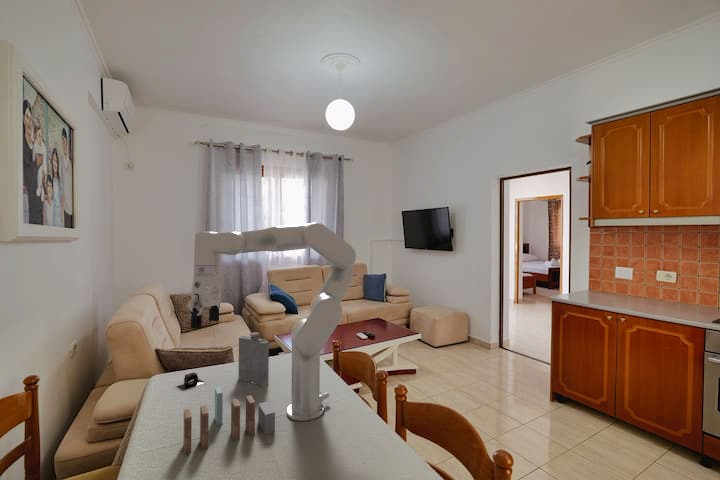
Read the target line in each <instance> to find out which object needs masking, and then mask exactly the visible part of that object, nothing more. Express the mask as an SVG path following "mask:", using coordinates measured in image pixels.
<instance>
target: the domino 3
mask: <svg viewBox="0 0 720 480" xmlns="http://www.w3.org/2000/svg"><path fill="white" fill-rule="evenodd" d="M223 397H224V394H223V390H222V388H221V386H218V387H214V420H215V423H216V426H219V425H223V410H224V409H223V404H224V403H223V402H224V401H223V399H224V398H223Z"/></svg>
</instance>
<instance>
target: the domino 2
mask: <svg viewBox="0 0 720 480" xmlns="http://www.w3.org/2000/svg"><path fill="white" fill-rule="evenodd" d="M199 407H200V411H199V412H200V413H199V415H200V416H199V417H200V419H199V428H200V430H199V443H200V447H201V450H202V451H203V450H207V449H209V409H208V405H206V404H205V405H201V406H199Z"/></svg>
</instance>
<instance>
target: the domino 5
mask: <svg viewBox="0 0 720 480" xmlns="http://www.w3.org/2000/svg"><path fill="white" fill-rule="evenodd" d="M255 422H256V401H255V399H254V397H253V396H252V395H251V394H250V395H246V396H245V431H246V432H247V434H248V436H249V437H252V436H255V431H256V424H255Z"/></svg>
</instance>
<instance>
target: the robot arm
mask: <svg viewBox="0 0 720 480" xmlns="http://www.w3.org/2000/svg"><path fill="white" fill-rule="evenodd" d="M305 249H313V251H314V252H316V253H317V254H319V255H320V256H321V257H323V259H325V260H326V261H327V262H328V263H329V273H328V275H327V278H325V280H324V282H323V284H322V286H321V287H320V289H318V292H317V293H316V295H315V296H314V297H313V299H312V300H311V302H310V306H309V307H310V308H309V310H310V313H309V315H308V317H306V318H305V317H304V318H301V319H299V320H298V321H296V322H295V323H294V325H292V326H293V327H292V328H291V329H292V330H291V336H290V337H291V397H290V398H291V403H290V404H289V405H288V406H287V407H286V415H287V417H288V418H290V419H291V420H294V421H298V422H300V421H301V422H306V421H307V422H308V421H311V420H315V419H317V418H319V417H321V416H322V415H323V414H324V411H325V406H324V404H323V403H322V402H323V401H324V400H326V399H328V398H329V397H330V394H329V392H327V391H326V392H324V393H321V392H320V391H321V390H320V388H321V387H320V384H321V383H320V380H321V379H320V378H321V376H320V371H321V350H323V348H324V347H325V345H327V342H328V341H329V339H330V337H331V336H332V334H333V333H334V331H335V329H336V328H337V326H338V325H339V323H340V321H341V319H342V316H343V306H342V304H341V303H342V300H343V299H344V297H345V296H346V294H347V292H348V291H349V288H350V286H351V284H352V281H353V277H354V266H353V265H354V264H355V262H356V259H357V252H356V251H355V249H354V247H353V246H352V245H351V244H350V243H348V242H347V241H346V240H344V239H343V238H342V237H341V236H339V235H337V234H336V233H335V232H334V231H332V230H331V229H330V228H328V227H327V226H326V225H325V224H323V223H320V222H318V221H317V222H310V223H302V224H301V223H300V224H291V225H290V224H288V225H278V226H277V225H275V226H272V227H271V226H270V227H268V228H263V229H256V230H246V231H225V232H217V231H197V232H196V233H195V234H194V249H193V251H194V253H193V279H192V286H191V294H190V295H191V297H190V298H191V299H190V300H189V301H187V303H186V305H187V307H188V308H187V309H188V312H189V316H190V328H191V329H198V330H199V329H202V327H203V326H202V325H203V314H202V312H203V309H208V308H209V310H208V311H209V312H208V313H209V314H208V321H209V322H219V321H220V309H221V303H222V297H223V293H222V279H221V273H220V271H221V270H220V269H221V266H220V265H221V255H227V256H236V255H239V254H247V253H248V254H249V253H257V252H258V253H259V252H288V251H297V250H305Z"/></svg>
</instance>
